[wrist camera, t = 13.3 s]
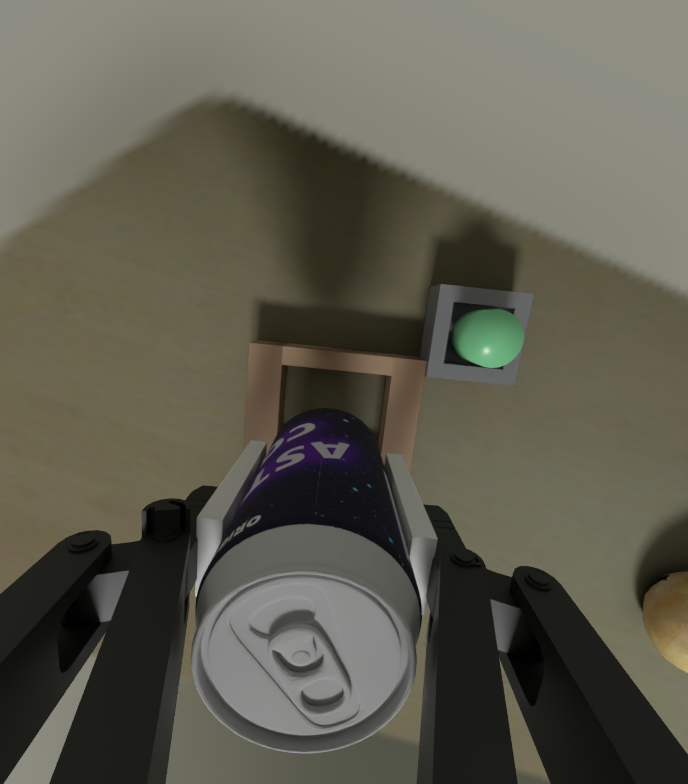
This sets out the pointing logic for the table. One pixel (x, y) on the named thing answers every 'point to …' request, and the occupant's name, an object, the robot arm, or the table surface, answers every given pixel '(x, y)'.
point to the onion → (669, 618)
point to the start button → (487, 337)
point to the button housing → (441, 318)
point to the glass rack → (400, 369)
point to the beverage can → (310, 596)
